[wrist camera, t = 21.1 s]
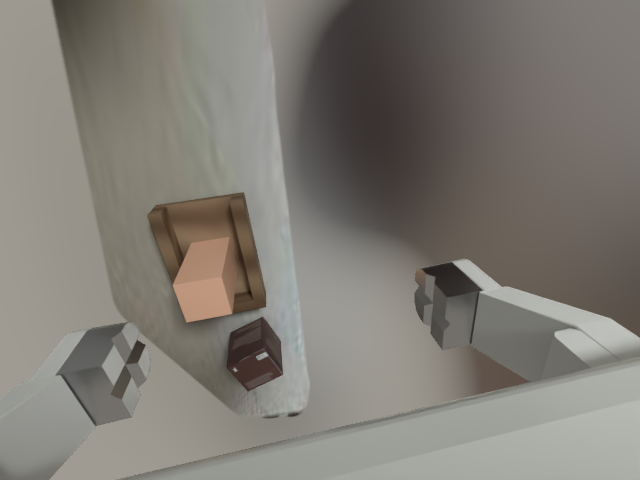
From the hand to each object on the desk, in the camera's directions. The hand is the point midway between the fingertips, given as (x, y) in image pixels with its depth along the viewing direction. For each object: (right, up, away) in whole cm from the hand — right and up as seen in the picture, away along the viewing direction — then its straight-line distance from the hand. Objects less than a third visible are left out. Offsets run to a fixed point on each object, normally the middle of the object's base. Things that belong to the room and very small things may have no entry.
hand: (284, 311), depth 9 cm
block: (-13, 0, +34) cm, 36 cm away
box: (-9, -13, +42) cm, 45 cm away
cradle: (-13, 0, +35) cm, 37 cm away
